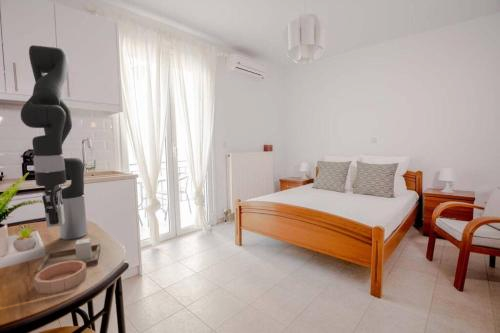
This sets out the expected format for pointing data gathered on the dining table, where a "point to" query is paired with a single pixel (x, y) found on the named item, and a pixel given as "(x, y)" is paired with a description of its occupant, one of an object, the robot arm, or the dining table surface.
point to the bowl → (60, 276)
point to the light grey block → (60, 216)
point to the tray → (68, 257)
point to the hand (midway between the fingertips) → (55, 221)
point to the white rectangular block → (83, 249)
